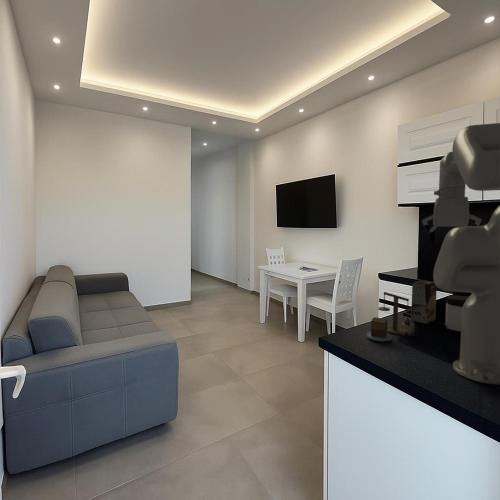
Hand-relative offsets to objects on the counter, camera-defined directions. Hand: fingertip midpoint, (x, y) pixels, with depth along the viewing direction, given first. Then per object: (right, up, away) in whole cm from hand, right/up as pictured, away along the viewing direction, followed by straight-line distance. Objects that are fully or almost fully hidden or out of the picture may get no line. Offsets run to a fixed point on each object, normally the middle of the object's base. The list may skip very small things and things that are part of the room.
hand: (449, 243), depth 108 cm
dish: (-23, -34, +2) cm, 41 cm away
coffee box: (+4, -32, +23) cm, 39 cm away
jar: (+11, -33, +12) cm, 37 cm away
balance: (-15, -33, +9) cm, 37 cm away
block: (-23, -32, +2) cm, 40 cm away
